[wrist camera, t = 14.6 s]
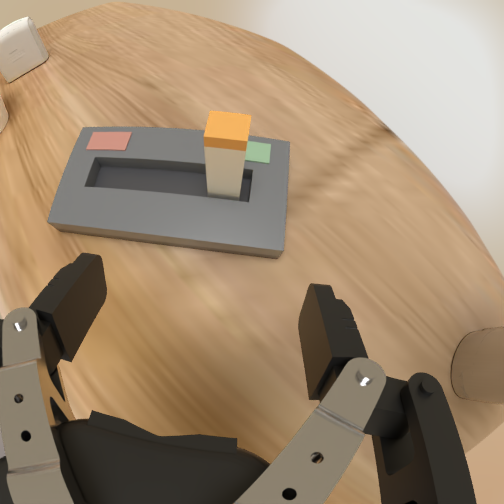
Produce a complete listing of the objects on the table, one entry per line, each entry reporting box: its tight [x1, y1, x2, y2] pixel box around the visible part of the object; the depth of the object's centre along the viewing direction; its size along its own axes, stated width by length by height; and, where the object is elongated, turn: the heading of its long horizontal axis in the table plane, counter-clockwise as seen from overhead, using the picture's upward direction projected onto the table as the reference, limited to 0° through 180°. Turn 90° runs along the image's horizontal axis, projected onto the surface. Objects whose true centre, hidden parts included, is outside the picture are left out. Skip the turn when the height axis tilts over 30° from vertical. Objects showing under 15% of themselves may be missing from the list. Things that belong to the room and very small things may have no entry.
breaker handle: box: [204, 111, 251, 201], centre depth 24 cm, size 3×2×10 cm
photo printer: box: [0, 17, 49, 83], centre depth 28 cm, size 10×4×12 cm, turn 112°
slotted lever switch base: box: [47, 127, 290, 259], centre depth 28 cm, size 24×12×3 cm, turn 84°
